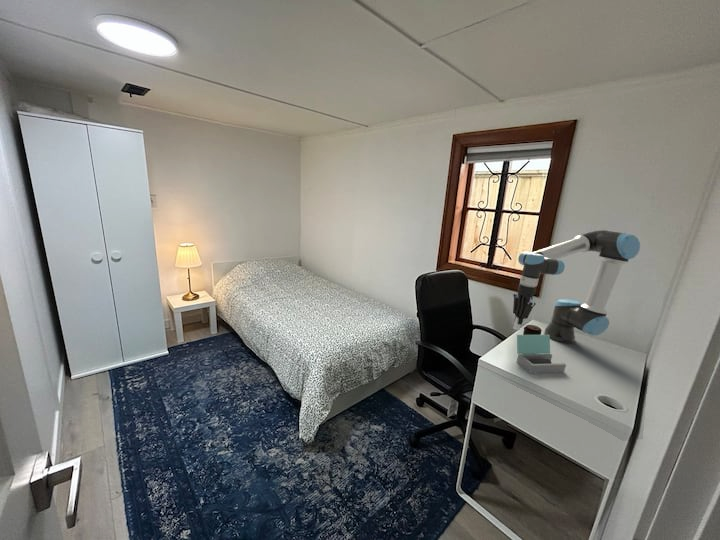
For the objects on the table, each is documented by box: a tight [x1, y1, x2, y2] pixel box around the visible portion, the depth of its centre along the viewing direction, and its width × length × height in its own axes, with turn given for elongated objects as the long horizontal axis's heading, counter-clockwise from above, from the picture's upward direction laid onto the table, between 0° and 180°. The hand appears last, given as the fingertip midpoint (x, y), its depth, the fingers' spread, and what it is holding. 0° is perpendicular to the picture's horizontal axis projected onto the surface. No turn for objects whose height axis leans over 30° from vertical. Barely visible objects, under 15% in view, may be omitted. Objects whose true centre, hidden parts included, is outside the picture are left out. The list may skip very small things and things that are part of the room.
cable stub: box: [529, 359, 553, 364], centre depth 142 cm, size 10×3×3 cm, turn 100°
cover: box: [516, 334, 551, 355], centre depth 146 cm, size 18×9×1 cm
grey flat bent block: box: [516, 353, 567, 374], centre depth 141 cm, size 18×9×4 cm, turn 100°
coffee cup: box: [522, 324, 543, 335], centre depth 155 cm, size 9×8×13 cm
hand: (516, 328), depth 150 cm, fingers closed
